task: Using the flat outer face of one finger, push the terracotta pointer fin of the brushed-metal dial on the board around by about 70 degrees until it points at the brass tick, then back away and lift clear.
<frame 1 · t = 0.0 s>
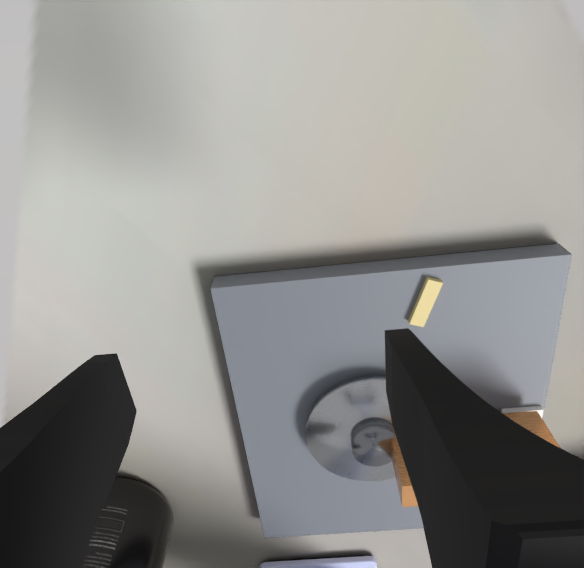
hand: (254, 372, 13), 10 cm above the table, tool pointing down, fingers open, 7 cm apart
dial: (427, 456, 23), point 4 cm above the table, hinge at 0.0°
board: (386, 406, 27), on the table
supplement bottle: (124, 506, 31), on the table
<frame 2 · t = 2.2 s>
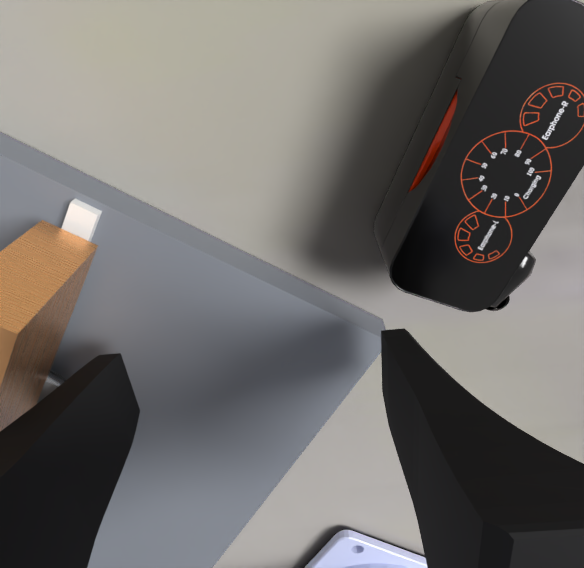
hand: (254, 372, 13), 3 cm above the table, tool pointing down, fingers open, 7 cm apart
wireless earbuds: (467, 176, 13), on the table
board: (33, 384, 16), on the table
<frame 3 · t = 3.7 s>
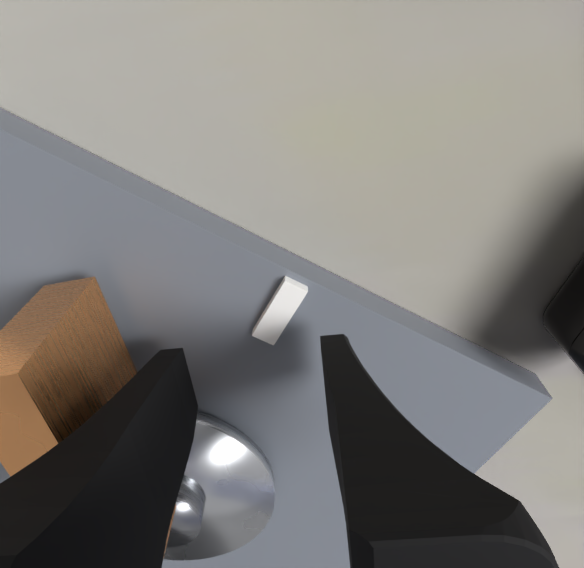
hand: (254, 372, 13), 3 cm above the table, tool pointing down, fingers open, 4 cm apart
dial: (129, 491, 13), point 4 cm above the table, hinge at 39.9°, touching gripper
board: (192, 432, 17), on the table
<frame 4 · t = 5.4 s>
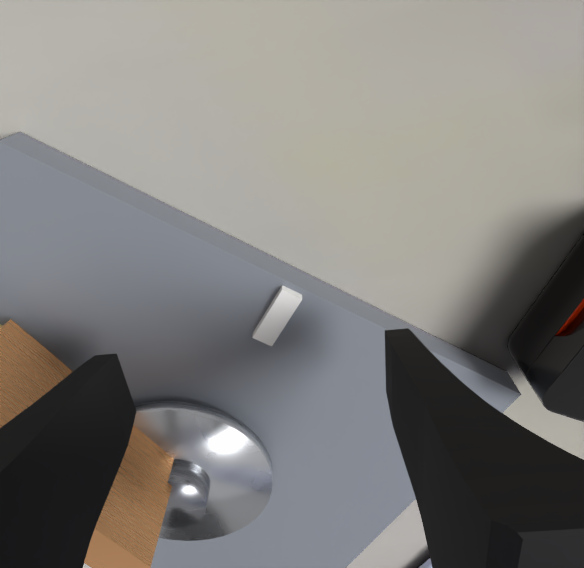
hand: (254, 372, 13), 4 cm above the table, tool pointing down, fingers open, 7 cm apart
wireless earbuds: (582, 305, 17), on the table
dial: (116, 483, 15), point 4 cm above the table, hinge at 64.7°
board: (198, 424, 19), on the table
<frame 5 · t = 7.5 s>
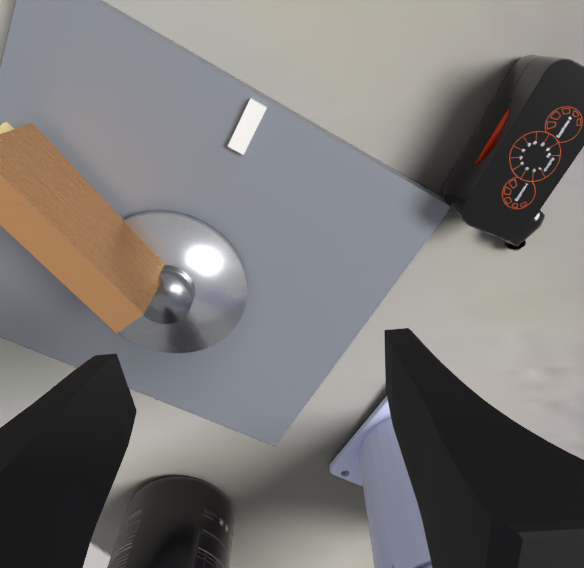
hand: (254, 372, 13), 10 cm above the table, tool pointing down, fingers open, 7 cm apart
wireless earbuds: (503, 161, 21), on the table
dial: (117, 266, 19), point 4 cm above the table, hinge at 64.8°
board: (186, 252, 23), on the table
supplement bottle: (184, 505, 31), on the table
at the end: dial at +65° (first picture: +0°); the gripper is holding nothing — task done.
